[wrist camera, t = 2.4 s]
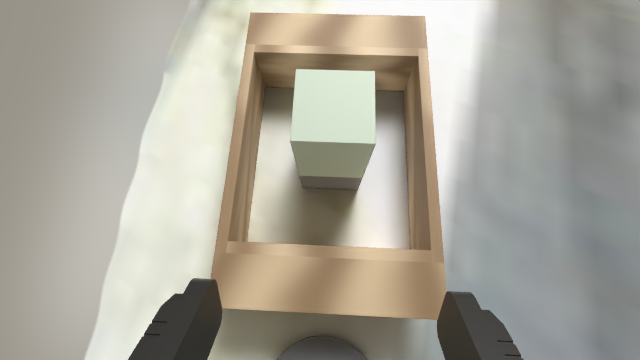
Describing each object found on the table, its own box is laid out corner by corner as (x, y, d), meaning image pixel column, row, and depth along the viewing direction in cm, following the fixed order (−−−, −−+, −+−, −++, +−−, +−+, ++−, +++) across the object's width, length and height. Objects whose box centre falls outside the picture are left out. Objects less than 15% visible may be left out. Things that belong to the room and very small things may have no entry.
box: (358, 139, 28) (374, 71, 19) (357, 189, 27) (375, 143, 17) (305, 137, 28) (296, 69, 19) (302, 187, 27) (289, 140, 17)
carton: (409, 55, 31) (424, 16, 26) (423, 310, 23) (448, 320, 19) (262, 52, 31) (250, 12, 27) (230, 300, 24) (206, 307, 19)
